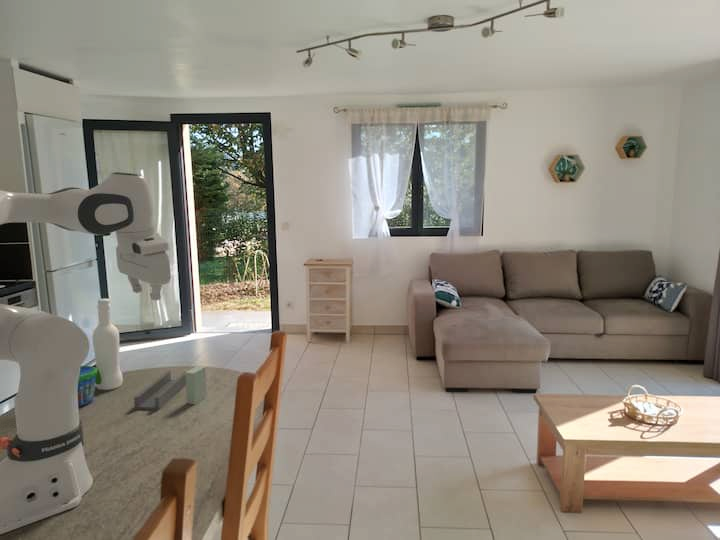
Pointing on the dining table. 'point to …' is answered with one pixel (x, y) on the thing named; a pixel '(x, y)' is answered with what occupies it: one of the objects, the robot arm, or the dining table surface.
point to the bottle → (107, 348)
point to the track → (159, 392)
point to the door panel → (195, 384)
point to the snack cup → (87, 384)
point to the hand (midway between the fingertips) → (146, 295)
